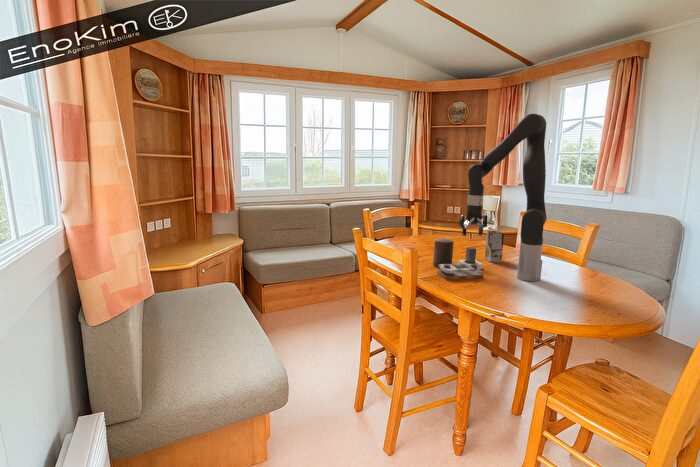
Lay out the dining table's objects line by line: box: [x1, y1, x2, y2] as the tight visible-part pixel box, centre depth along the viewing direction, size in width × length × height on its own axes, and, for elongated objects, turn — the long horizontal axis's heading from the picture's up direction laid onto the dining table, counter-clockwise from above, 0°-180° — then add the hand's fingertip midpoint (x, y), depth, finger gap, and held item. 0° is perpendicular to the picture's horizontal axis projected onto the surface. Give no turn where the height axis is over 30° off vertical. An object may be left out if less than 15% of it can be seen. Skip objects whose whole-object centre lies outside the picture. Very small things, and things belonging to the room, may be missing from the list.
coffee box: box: [484, 230, 505, 263], centre depth 206 cm, size 9×6×16 cm
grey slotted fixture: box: [436, 263, 484, 281], centre depth 180 cm, size 19×10×6 cm, turn 100°
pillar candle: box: [432, 238, 455, 268], centre depth 195 cm, size 10×10×15 cm
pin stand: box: [457, 259, 483, 270], centre depth 194 cm, size 9×9×2 cm
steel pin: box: [464, 246, 477, 264], centre depth 194 cm, size 4×4×10 cm
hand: (472, 235), depth 191 cm, fingers open, 8 cm apart
